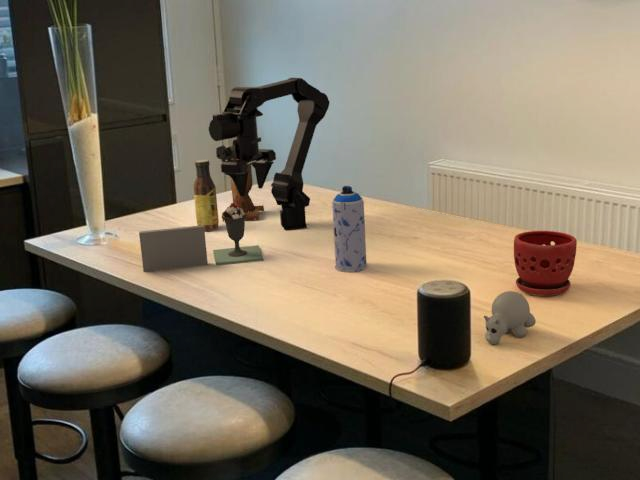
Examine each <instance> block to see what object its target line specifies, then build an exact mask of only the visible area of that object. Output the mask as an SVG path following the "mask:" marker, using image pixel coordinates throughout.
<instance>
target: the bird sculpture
mask: <svg viewBox="0 0 640 480" xmlns="http://www.w3.org/2000/svg"><path fill="white" fill-rule="evenodd" d="M235 160H239V159H235ZM246 162H247V161H246ZM246 172H248V178H247V184H246V190H245V195H244V196H240V194H239V192H238V190H237V188H236V185H235V183H234V181H233V179H232V178H231V177H230V185H231V186H230V187H231V194H232V195H231V196H232V203H233V202H234V201H235V202H234V203H235V205H236V204H239V205H240V208H241V209H242V210H243V211H244V214H247V217H246V218H245V222H249V221H250V222H251V221H254V222H255V221H259V219H260V216H259V215H260V212H265V208H264V207H265V206H264V205H263V204H262V205H254V202H253V200H252V198H251V196H250V195H249V193H250V191H251V190H252V188H253V173H252V172H253V171H252V164H249V165H248V168H247V171H246ZM236 196H238V197H236ZM235 199H236V200H235ZM237 200H238V203H237ZM228 207H229V206H227V207H226V209H225V210H224V211H226V210H227V208H228ZM222 216H223V214H222V213H221V217H222ZM222 222H225V220H223V219H222Z"/></svg>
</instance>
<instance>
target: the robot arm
mask: <svg viewBox="0 0 640 480" xmlns="http://www.w3.org/2000/svg"><path fill="white" fill-rule="evenodd" d="M290 95H291V96H292V98H293V101H295V102H296V103H297V104H298V105H297V109H296V110H297V111H296V112H297V113H298V114H297V115H298V120H299V121H298V123H297V127H296V131H295V133H294V137H293V141H292V144H291V147H290V149H289V152H288V156H287V160H286V163H285V166H284V169H283V170H281V172H275V173H274V174H273V175H274V176H273V179H272V182H271V184H270V186H271V190H270V191H271V192H270V193H271V194H272V198H274V199H275V203H276V205H277V206H280V207H281V210H280V211H279V216H280V217H279V218H280V225H281V227H282V228H283V229H284V231H287V230H289V231H290V230H298V229H307V228H308V225H307V222H306V219H307V218H306V207H309V206H310V202H311V198H310V197H309V196H308V195H307V194H306V193H305V192H304V191H303V189H304V179H303V173H302V172H303V170H304V166H305V163H306V160H307V156H308V154H309V151H310V150H309V149H310V147H311V144H312V140H313V137H314V134H315V131H316V127H317V125H318V124H319V123H320V122H321V121H323V119H324V118H325V117H326V114H327V111H329V110H328V109H329V107H330V100H329V97H328V96H327V94H326V93H325V92H322V91H321V90H319V89H317V88H316V87H315V86H313V85H311V84H309V83H308V82H307V81H306V80H305V79H303V78H301V77H289V78H288V79H284V80H279V81H276V82H275V81H274V82H271V83H268V84H264V85H260V86H237V87H233V88H232V89H231V91H230V93H229V95H228V96H229V97H228V99H227V101H226V103H225V105H224V107H223V110H222V112H221V114H220V113H216V114H212V119H211V120H210V122H209V125H208V133H209V136H210V137H211V139H212V140H213V141H215V142H219V141H220V142H221V141H224V140H225V141H226V140H229V139H233V141H232V145H231V146H228V147H226V146H225V145H221V146H218V147H216V149H215V150H216V152H215V153H216V155H215V156H216V158H218V159H219V160H221V164H220V172H221V173H224V175H226V176H229V178H230V179H231V178H232V179H233V181H234V183H235V185H236V188H237V190H238V192H239V194H240V196H244V195H245V190H246V184H247V178H248V172H246V171H247V168H248V165H249V164H251V167H253V168H254V170H255V177H256V183H257V188H258V189H263V188H264V185H265V182H266V180H267V177H268V175H269V172H270V170H271V168H272V166H273V164H274V163H275V162H274V161H275V160H277V155H276V152H275V151H274V149H270V148H269V149H268V148H266V149H265V148H259V143H260V142H262V137H259V135H258V125H257V123H258V121H257V117H262V116H264V113H263V112H261V111H260V110H259V109H258V108H259V107H261V106H263V105H264V103H266V102H269V101H272V100H276V99H279V98H283V97H287V96H290ZM235 159H239V160H235ZM246 161H247V162H246Z"/></svg>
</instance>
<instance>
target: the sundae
mask: <svg viewBox="0 0 640 480" xmlns="http://www.w3.org/2000/svg"><path fill="white" fill-rule="evenodd" d="M236 197H238V196H236ZM235 200H236V199H235ZM234 202H235V201H234ZM234 202H233V201H232V203H230V205H229V206H227V207H228V208H227V207H226V209H227V210H226V209H225V210H226V211H225V210H224V211H223V212H222V213H221V219H222V221H223V220H224V223H225V226H226V233H227V237H228V238H229V239H230V240H232V241H233V242H234V248H235V249H234V251H232V252H230V253H229V254H228V255H229V256H232V257H238V256H244V255H246V254H247V251H243V250H241V249H240V247H241V246H240V241H241V240H242V239H243V238H244V235H245V224H246V223H245V222H246V221H245V218H246V217H247V214H244V211H243V210H242V209H241V208H240V205H239V204H236V205H235V203H234ZM237 203H238V200H237ZM222 214H223V216H222Z"/></svg>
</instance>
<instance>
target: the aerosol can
mask: <svg viewBox="0 0 640 480" xmlns="http://www.w3.org/2000/svg"><path fill="white" fill-rule="evenodd" d="M331 204H332V205H331V206H332V222H333V237H334V238H333V241H334V256H335V257H334V258H335V260H334V261H335V265H334V268H335V270H336V271H338V272H342V273H357V272H362V271H364V270H366V269H367V268H368V263H367V248H366V246H367V244H366V225H365V205H364V204H365V203H364V199H363V197H362V196H361V195H360V194H359V193H358V192H356V191H354V190H353V187H352V186H350V185H344V186H342V187H341V192H339V193H338V194H336V195H335V197H334V198H333V199H332V203H331Z"/></svg>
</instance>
